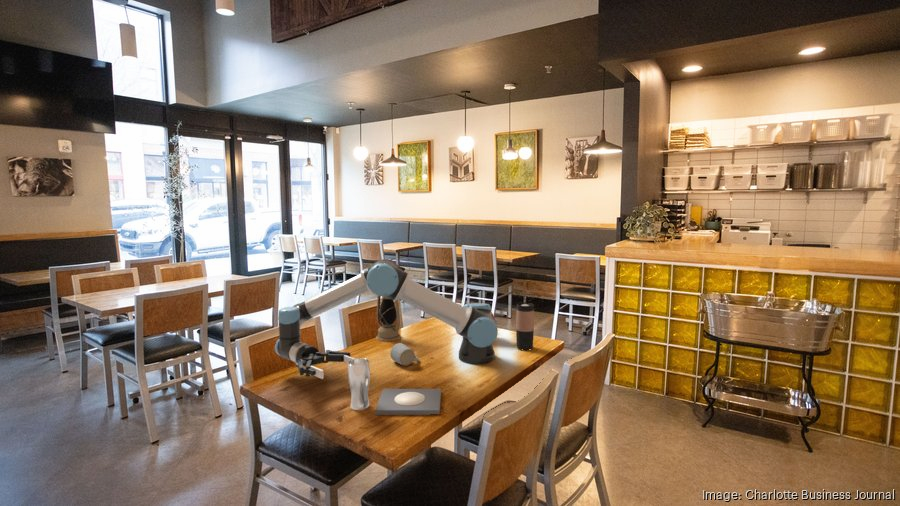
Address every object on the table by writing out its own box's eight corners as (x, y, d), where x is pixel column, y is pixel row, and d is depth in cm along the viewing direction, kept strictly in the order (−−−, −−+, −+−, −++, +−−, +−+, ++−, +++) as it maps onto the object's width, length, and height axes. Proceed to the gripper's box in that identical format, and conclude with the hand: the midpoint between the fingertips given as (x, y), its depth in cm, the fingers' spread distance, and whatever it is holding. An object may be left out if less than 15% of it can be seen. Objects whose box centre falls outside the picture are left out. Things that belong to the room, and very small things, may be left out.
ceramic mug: (400, 368, 183) (400, 349, 182) (390, 362, 189) (389, 344, 188) (422, 362, 189) (422, 344, 188) (411, 357, 195) (411, 339, 195)
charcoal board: (440, 392, 160) (440, 388, 159) (439, 414, 144) (439, 409, 144) (383, 393, 160) (383, 388, 160) (375, 414, 144) (375, 409, 144)
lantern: (408, 337, 223) (407, 275, 219) (391, 343, 213) (389, 279, 210) (386, 332, 231) (384, 273, 228) (368, 338, 222) (367, 276, 218)
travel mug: (522, 352, 201) (523, 307, 198) (512, 347, 208) (513, 303, 205) (536, 349, 204) (537, 305, 202) (526, 344, 211) (527, 301, 209)
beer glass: (350, 401, 153) (348, 358, 151) (371, 401, 154) (370, 357, 152) (347, 411, 146) (345, 365, 144) (369, 410, 147) (368, 365, 145)
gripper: (333, 355, 179) (369, 369, 165) (273, 374, 160) (307, 391, 146) (333, 336, 178) (368, 348, 164) (272, 353, 159) (306, 368, 145)
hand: (340, 368), depth 155 cm, fingers open, 13 cm apart
